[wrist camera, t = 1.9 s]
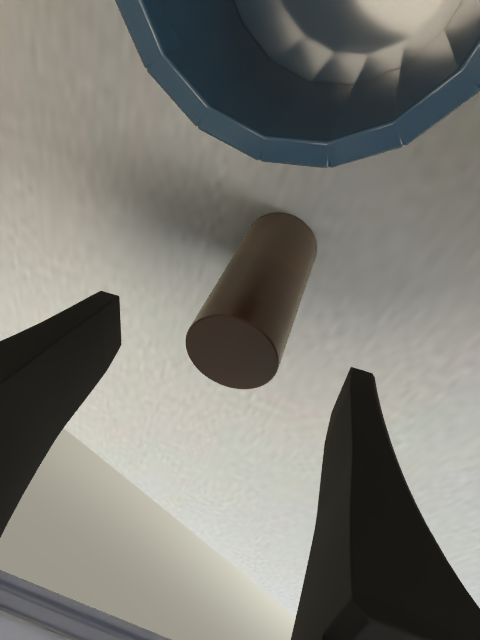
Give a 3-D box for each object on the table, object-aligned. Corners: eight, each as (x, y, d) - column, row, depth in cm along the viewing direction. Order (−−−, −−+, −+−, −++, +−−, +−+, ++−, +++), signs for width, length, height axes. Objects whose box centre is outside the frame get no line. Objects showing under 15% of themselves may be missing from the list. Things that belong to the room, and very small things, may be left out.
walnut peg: (332, 253, 19) (299, 368, 14) (278, 287, 21) (231, 401, 15) (284, 198, 18) (229, 298, 13) (233, 238, 20) (166, 341, 15)
